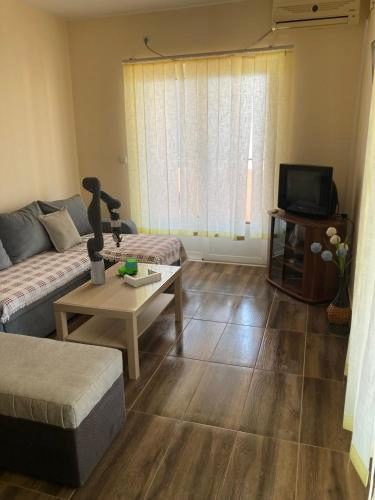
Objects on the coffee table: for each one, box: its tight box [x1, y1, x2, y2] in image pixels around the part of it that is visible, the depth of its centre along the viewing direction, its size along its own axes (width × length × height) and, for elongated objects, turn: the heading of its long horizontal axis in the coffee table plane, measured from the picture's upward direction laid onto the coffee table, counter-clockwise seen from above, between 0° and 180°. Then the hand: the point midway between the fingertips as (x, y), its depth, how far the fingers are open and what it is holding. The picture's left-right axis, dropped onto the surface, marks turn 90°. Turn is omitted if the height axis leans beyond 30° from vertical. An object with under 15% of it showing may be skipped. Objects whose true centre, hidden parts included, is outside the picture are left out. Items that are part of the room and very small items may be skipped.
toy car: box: [117, 258, 139, 276], centre depth 302 cm, size 10×13×10 cm
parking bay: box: [123, 268, 162, 288], centre depth 286 cm, size 22×15×5 cm
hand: (118, 247), depth 308 cm, fingers closed
